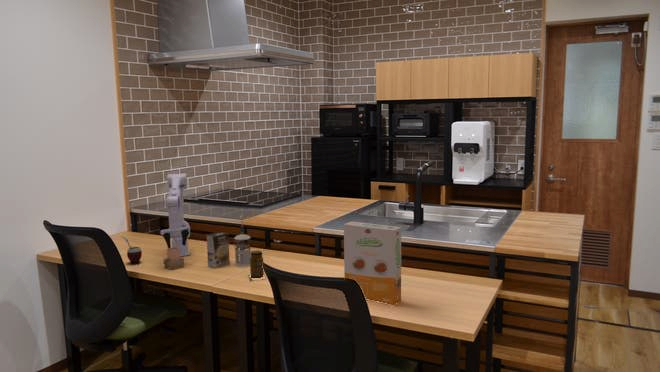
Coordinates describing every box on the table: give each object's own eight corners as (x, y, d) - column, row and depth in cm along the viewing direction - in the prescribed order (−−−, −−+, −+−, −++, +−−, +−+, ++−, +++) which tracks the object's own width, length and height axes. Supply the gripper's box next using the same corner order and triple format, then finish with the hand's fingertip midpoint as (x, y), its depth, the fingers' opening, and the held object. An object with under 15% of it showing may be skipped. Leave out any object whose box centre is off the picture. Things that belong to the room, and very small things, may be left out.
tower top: (163, 264, 254) (163, 259, 254) (175, 260, 260) (175, 255, 260) (172, 266, 250) (171, 261, 250) (184, 263, 256) (183, 258, 255)
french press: (239, 268, 252) (237, 218, 248) (228, 263, 261) (225, 215, 257) (257, 264, 258) (255, 215, 254) (245, 259, 267) (243, 212, 263)
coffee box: (215, 268, 252) (214, 236, 250) (207, 266, 256) (205, 234, 254) (230, 264, 259) (228, 233, 257) (222, 262, 263) (220, 231, 261)
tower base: (164, 268, 256) (164, 263, 256) (178, 265, 260) (177, 260, 260) (170, 271, 251) (170, 266, 250) (183, 268, 255) (183, 263, 255)
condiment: (263, 274, 242) (262, 249, 240) (266, 279, 234) (265, 254, 232) (248, 275, 240) (247, 250, 239) (250, 281, 232) (249, 255, 230)
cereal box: (401, 301, 204) (401, 227, 200) (394, 306, 199) (393, 230, 195) (352, 291, 217) (351, 221, 212) (344, 295, 211) (343, 224, 207)
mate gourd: (145, 262, 266) (143, 233, 264) (133, 266, 259) (131, 237, 256) (134, 260, 269) (132, 232, 267) (122, 264, 262) (120, 236, 260)
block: (167, 258, 255) (167, 248, 254) (176, 256, 258) (175, 247, 257) (171, 260, 251) (170, 250, 251) (180, 258, 254) (179, 248, 254)
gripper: (163, 223, 246) (165, 250, 248) (192, 218, 255) (193, 245, 257) (158, 221, 252) (160, 247, 254) (186, 216, 261) (187, 242, 263)
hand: (176, 246), depth 256 cm, fingers open, 7 cm apart
